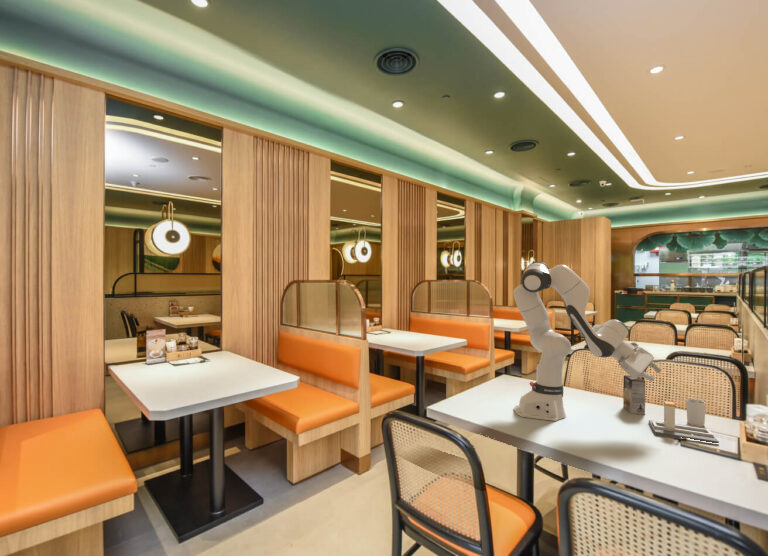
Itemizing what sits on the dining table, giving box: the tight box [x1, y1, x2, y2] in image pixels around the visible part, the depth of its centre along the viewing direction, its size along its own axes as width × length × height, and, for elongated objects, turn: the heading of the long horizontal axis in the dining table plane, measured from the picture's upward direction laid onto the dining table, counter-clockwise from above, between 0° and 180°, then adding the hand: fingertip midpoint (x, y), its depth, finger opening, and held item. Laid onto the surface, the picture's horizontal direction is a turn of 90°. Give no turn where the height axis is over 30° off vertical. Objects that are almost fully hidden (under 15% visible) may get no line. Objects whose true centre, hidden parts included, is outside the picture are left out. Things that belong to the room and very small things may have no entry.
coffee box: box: [622, 375, 646, 415], centre depth 180 cm, size 9×6×16 cm
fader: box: [663, 400, 676, 428], centre depth 155 cm, size 3×4×10 cm
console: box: [648, 419, 720, 443], centre depth 154 cm, size 20×14×2 cm
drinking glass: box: [685, 398, 707, 427], centre depth 164 cm, size 7×7×10 cm
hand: (657, 375), depth 156 cm, fingers open, 8 cm apart
